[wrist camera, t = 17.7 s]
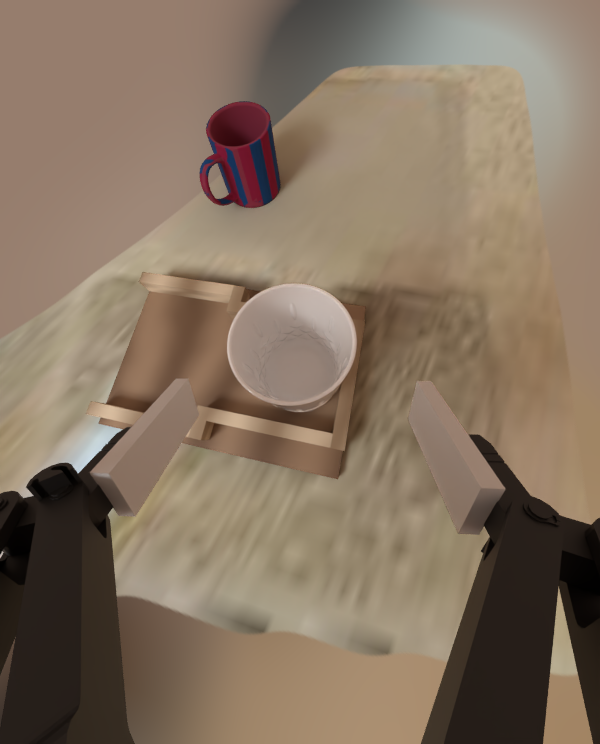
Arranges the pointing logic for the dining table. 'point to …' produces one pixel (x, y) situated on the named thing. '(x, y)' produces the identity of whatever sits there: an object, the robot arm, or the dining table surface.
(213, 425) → the wooden tray
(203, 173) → the mug
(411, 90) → the dining table surface
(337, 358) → the white cup
